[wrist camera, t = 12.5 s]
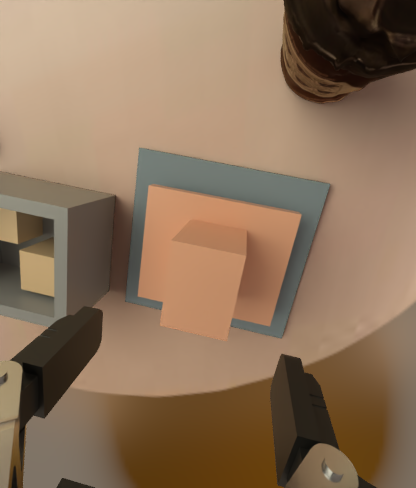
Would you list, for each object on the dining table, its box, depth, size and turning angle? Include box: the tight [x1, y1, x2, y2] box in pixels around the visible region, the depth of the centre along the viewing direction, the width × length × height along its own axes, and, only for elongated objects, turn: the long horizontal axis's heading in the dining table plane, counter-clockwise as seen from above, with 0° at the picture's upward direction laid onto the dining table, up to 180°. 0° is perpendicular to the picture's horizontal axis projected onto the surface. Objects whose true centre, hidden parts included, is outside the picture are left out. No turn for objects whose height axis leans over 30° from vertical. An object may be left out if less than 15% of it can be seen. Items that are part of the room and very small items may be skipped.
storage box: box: [0, 172, 115, 327], centre depth 24 cm, size 10×12×7 cm
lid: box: [138, 184, 302, 341], centre depth 21 cm, size 10×12×8 cm
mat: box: [125, 148, 330, 338], centre depth 25 cm, size 15×16×1 cm
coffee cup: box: [281, 0, 416, 103], centre depth 14 cm, size 9×8×13 cm
